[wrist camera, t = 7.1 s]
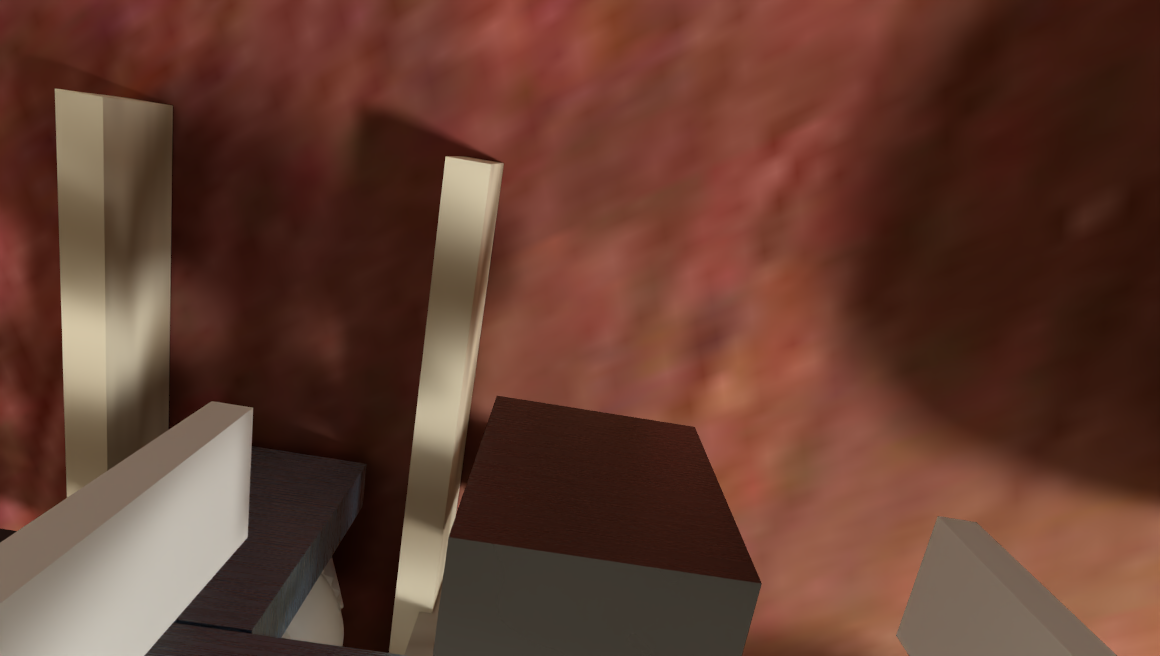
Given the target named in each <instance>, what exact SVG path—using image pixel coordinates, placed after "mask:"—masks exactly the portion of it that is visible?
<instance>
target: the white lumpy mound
mask: <svg viewBox="0 0 1160 656" xmlns="http://www.w3.org/2000/svg"><path fill="white" fill-rule="evenodd" d="M343 607H344V605H343V600H342V596H341V592H340V588H339V584H338V579H337V575H336V571H335V567H334V563H333V559H332V557H331V558H330V560H329V561H328V563H327V565H326V566H325V568H324V570H323V571H322V573H321V574H320V576H319V578H318V579H317V581H316V582H315V584H314V586H313V587H312V589H311V591H310V592H309V594H308V595H307V597H306V599H305V600H304V602H303V604H302V605H301V607H300V608H299V610H298V612H297V613H296V615H295V616H294V618H293V620H292V621H291V623H290V625H289V626H288V628H287V629H286V631H285V633H284V634H283V636H282V637H281V638H286V639H293V640H300V641H307V642H314V643H321V644H328V645H335V646H343V640H344V626H343V618H342V613H341V609H342V608H343Z"/></svg>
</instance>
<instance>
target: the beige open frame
mask: <svg viewBox="0 0 1160 656" xmlns="http://www.w3.org/2000/svg"><path fill="white" fill-rule="evenodd" d="M55 112H56V146H57V180H58V214H59V248H60V282H61V316H62V350H63V384H64V418H65V451H66V485H67V498H68V497H69V496H71V495H72V494H74V493H75V492H77V491H78V490H80V489H81V488H83V487H84V486H86V485H87V484H89V483H90V482H92V481H93V480H94V479H96V478H97V477H99V476H100V475H102V474H103V473H105V472H106V471H108V470H109V469H111V468H112V467H114V466H115V465H117V464H118V463H120V462H121V461H123V460H124V459H126V458H127V457H129V456H130V455H132V454H133V453H135V452H136V451H138V450H139V449H141V448H142V447H144V446H145V445H147V444H148V443H150V442H151V441H153V440H154V439H156V438H157V437H159V436H160V435H162V434H163V433H165V432H166V431H168V430H169V362H170V287H171V211H172V136H173V106H172V105H167V104H161V103H155V102H149V101H144V100H138V99H132V98H124V97H117V96H109V95H101V94H94V93H86V92H78V91H71V90H63V89H55ZM503 165H504V163H500V162H494V161H488V160H483V159H477V158H471V157H465V156H446V157H445V166H444V175H443V183H442V192H441V201H440V210H439V218H438V227H437V236H436V245H435V253H434V262H433V271H432V279H431V288H430V297H429V306H428V314H427V323H426V332H425V341H424V349H423V358H422V367H421V376H420V384H419V393H418V402H417V410H416V419H415V428H414V437H413V445H412V454H411V463H410V472H409V480H408V489H407V498H406V507H405V515H404V524H403V533H402V541H401V550H400V559H399V568H398V576H397V585H396V594H395V603H394V611H393V620H392V629H391V638H390V646H389V653H392V654H400V655H407V656H433V649H434V641H435V634H436V626H437V619H438V612H439V604H440V597H441V589H442V582H443V574H444V567H445V560H446V552H447V545H448V537H449V534H450V531H451V528H452V526H453V523H454V520H455V517H456V510H457V503H458V495H459V488H460V481H461V473H462V466H463V459H464V451H465V444H466V437H467V429H468V422H469V415H470V407H471V400H472V393H473V385H474V378H475V371H476V363H477V356H478V349H479V341H480V334H481V327H482V319H483V312H484V305H485V297H486V290H487V283H488V275H489V268H490V261H491V253H492V246H493V239H494V231H495V224H496V217H497V209H498V202H499V195H500V187H501V180H502V173H503Z"/></svg>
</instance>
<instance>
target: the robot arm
mask: <svg viewBox="0 0 1160 656" xmlns="http://www.w3.org/2000/svg"><path fill="white" fill-rule="evenodd" d="M252 426H253V408H252V407H246V406H239V405H233V404H227V403H221V402H214V401H211V402H210V403H208V404H207V405H205V406H204V407H202V408H201V409H199V410H198V411H196V412H195V413H193V414H192V415H190V416H189V417H187V418H186V419H184V420H183V421H181V422H180V423H178V424H177V425H175V426H174V427H172V428H171V429H169V430H168V431H166V432H165V433H163V434H162V435H160V436H159V437H157V438H156V439H154V440H153V441H151V442H150V443H148V444H147V445H145V446H144V447H142V448H141V449H139V450H138V451H136V452H135V453H133V454H132V455H130V456H129V457H127V458H126V459H124V460H123V461H121V462H120V463H118V464H117V465H115V466H114V467H112V468H111V469H109V470H108V471H106V472H105V473H103V474H102V475H100V476H99V477H97V478H96V479H94V480H93V481H92V482H90V483H89V484H87V485H86V486H84V487H83V488H81V489H80V490H78V491H77V492H75V493H74V494H72V495H71V496H69V497H68V498H66V499H65V500H63V501H62V502H60V503H59V504H57V505H56V506H54V507H53V508H51V509H50V510H48V511H47V512H45V513H44V514H42V515H41V516H39V517H38V518H36V519H35V520H33V521H32V522H30V523H29V524H27V525H26V526H24V527H23V528H21V529H20V530H18V531H12V530H5V529H0V656H144V655H145V654H146V653H147V652H148V651H149V650H150V649H151V647H152V646H153V645H154V644H155V643H156V642H157V640H158V639H159V638H160V637H161V636H162V635H163V634H164V632H165V631H166V630H167V629H168V628H169V627H170V626H171V624H172V623H173V622H174V621H175V620H176V619H177V618H178V616H179V615H180V614H181V613H182V612H183V611H184V610H185V608H186V607H187V606H188V605H189V604H190V603H191V602H192V600H193V599H194V598H195V597H196V596H197V595H198V594H199V592H200V591H201V590H202V589H203V588H204V587H205V586H206V584H207V583H208V582H209V581H210V580H211V579H212V578H213V576H214V575H215V574H216V573H217V572H218V571H219V570H220V568H221V567H222V566H223V565H224V564H225V563H226V562H227V560H228V559H229V558H230V557H231V556H232V555H233V553H234V552H235V551H236V550H237V549H238V548H239V547H240V545H241V544H242V543H243V542H244V541H245V540H246V539H247V537H248V518H249V495H250V472H251V449H252ZM896 636H897V637H898V639H899V640H900V642H901V644H902V645H903V647H904V648H905V650H906V651H907V653H908V654H909V656H1117V655H1116V654H1115V653H1114V652H1113V651H1112V650H1111V649H1109V648H1108V647H1107V646H1106V645H1105V644H1104V643H1103V642H1102V641H1101V640H1100V639H1099V638H1098V637H1097V636H1096V635H1095V634H1094V633H1093V632H1092V631H1090V630H1089V629H1088V628H1087V627H1086V626H1085V625H1084V624H1083V623H1082V622H1081V621H1080V620H1079V619H1078V618H1077V617H1076V616H1075V615H1074V614H1073V613H1071V612H1070V611H1069V610H1068V609H1067V608H1066V607H1065V606H1064V605H1063V604H1062V603H1061V602H1060V601H1059V600H1058V599H1057V598H1056V597H1055V596H1054V595H1052V594H1051V593H1050V592H1049V591H1048V590H1047V589H1046V588H1045V587H1044V586H1043V585H1042V584H1041V583H1040V582H1039V581H1038V580H1037V579H1036V578H1035V577H1033V576H1032V575H1031V574H1030V573H1029V572H1028V571H1027V570H1026V569H1025V568H1024V567H1023V566H1022V565H1021V564H1020V563H1019V562H1018V561H1017V560H1016V559H1014V558H1013V557H1012V556H1011V555H1010V554H1009V553H1008V552H1007V551H1006V550H1005V549H1004V548H1003V547H1002V546H1001V545H1000V544H999V543H998V542H997V541H995V540H994V539H993V538H992V537H991V536H990V535H989V534H988V533H987V532H986V531H985V530H984V529H983V528H982V527H981V526H980V525H979V524H978V523H976V522H971V521H965V520H959V519H953V518H946V517H940V516H938V517H937V520H936V523H935V526H934V529H933V532H932V534H931V537H930V540H929V543H928V546H927V549H926V552H925V554H924V557H923V560H922V563H921V566H920V569H919V572H918V574H917V577H916V580H915V583H914V586H913V589H912V592H911V595H910V597H909V600H908V603H907V606H906V609H905V612H904V615H903V617H902V620H901V623H900V626H899V629H898V632H897V635H896Z"/></svg>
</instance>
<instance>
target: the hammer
mask: <svg viewBox="0 0 1160 656" xmlns="http://www.w3.org/2000/svg"><path fill="white" fill-rule="evenodd" d="M366 467H367V464H366V463H359V462H353V461H346V460H340V459H333V458H327V457H320V456H313V455H307V454H300V453H294V452H287V451H281V450H274V449H268V448H261V447H255V446H252V449H251V472H250V495H249V518H248V537H247V539H246V540H245V541H244V542H243V543H242V544H241V545H240V547H239V548H238V549H237V550H236V551H235V552H234V553H233V555H232V556H231V557H230V558H229V559H228V560H227V562H226V563H225V564H224V565H223V566H222V567H221V568H220V570H219V571H218V572H217V573H216V574H215V575H214V576H213V578H212V579H211V580H210V581H209V582H208V583H207V584H206V586H205V587H204V588H203V589H202V590H201V591H200V592H199V594H198V595H197V596H196V597H195V598H194V599H193V600H192V602H191V603H190V604H189V605H188V606H187V607H186V608H185V610H184V611H183V612H182V613H181V614H180V615H179V616H178V618H177V619H176V620H175V621H174V622H173V623H172V624H171V626H170V627H169V628H168V629H167V630H166V631H165V632H164V634H163V635H162V636H161V637H160V638H159V639H158V640H157V642H156V643H155V644H154V645H153V646H152V647H151V649H150V650H149V651H148V652H147V653H146V654H145V655H144V656H407V655H400V654H392V653H385V652H378V651H371V650H364V649H357V648H350V647H343V646H335V645H328V644H321V643H314V642H307V641H300V640H293V639H286V638H281V637H282V636H283V634H284V633H285V631H286V629H287V628H288V626H289V625H290V623H291V621H292V620H293V618H294V616H295V615H296V613H297V612H298V610H299V608H300V607H301V605H302V604H303V602H304V600H305V599H306V597H307V595H308V594H309V592H310V591H311V589H312V587H313V586H314V584H315V582H316V581H317V579H318V578H319V576H320V574H321V573H322V571H323V570H324V568H325V566H326V565H327V563H328V561H329V560H330V558H331V557H332V555H333V553H334V552H335V550H336V549H337V547H338V545H339V544H340V542H341V540H342V539H343V537H344V536H345V534H346V532H347V531H348V529H349V528H350V526H351V524H352V523H353V521H354V519H355V518H356V516H357V515H358V513H359V511H360V510H361V508H362V506H363V498H364V488H365V478H366ZM761 584H762V583H761V581H760V579H759V576H758V574H757V572H756V569H755V567H754V565H753V562H752V560H751V558H750V555H749V553H748V551H747V548H746V546H745V544H744V541H743V539H742V537H741V534H740V532H739V530H738V527H737V525H736V523H735V520H734V518H733V516H732V513H731V511H730V509H729V506H728V504H727V502H726V499H725V497H724V495H723V492H722V490H721V488H720V485H719V483H718V480H717V478H716V476H715V473H714V471H713V469H712V466H711V464H710V462H709V459H708V457H707V455H706V452H705V450H704V448H703V445H702V443H701V441H700V438H699V436H698V434H697V431H696V429H695V427H691V426H685V425H678V424H672V423H666V422H659V421H653V420H647V419H641V418H634V417H628V416H622V415H615V414H609V413H603V412H596V411H590V410H584V409H577V408H571V407H565V406H558V405H552V404H546V403H540V402H533V401H527V400H521V399H514V398H508V397H502V396H497V397H496V400H495V403H494V406H493V409H492V412H491V415H490V418H489V420H488V423H487V426H486V429H485V432H484V435H483V438H482V441H481V444H480V447H479V450H478V453H477V455H476V458H475V461H474V464H473V467H472V470H471V473H470V476H469V479H468V482H467V485H466V488H465V490H464V493H463V496H462V499H461V502H460V505H459V508H458V511H457V514H456V517H455V520H454V523H453V526H452V528H451V531H450V534H449V537H448V545H447V552H446V560H445V567H444V574H443V582H442V589H441V597H440V604H439V612H438V619H437V626H436V634H435V641H434V649H433V656H742V653H743V649H744V646H745V642H746V638H747V635H748V631H749V628H750V624H751V620H752V617H753V613H754V609H755V606H756V602H757V598H758V595H759V591H760V588H761Z"/></svg>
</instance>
